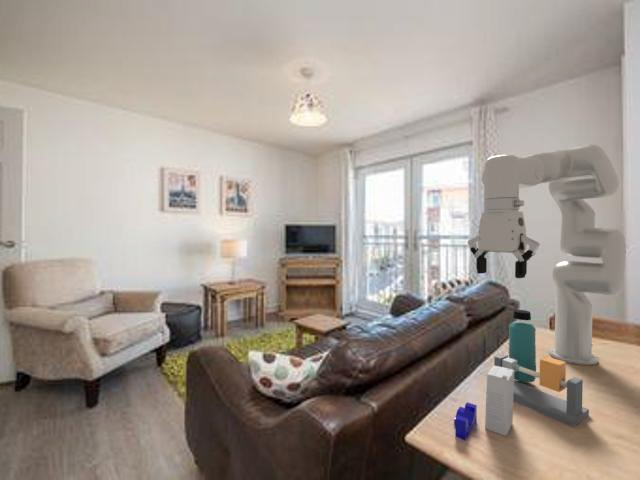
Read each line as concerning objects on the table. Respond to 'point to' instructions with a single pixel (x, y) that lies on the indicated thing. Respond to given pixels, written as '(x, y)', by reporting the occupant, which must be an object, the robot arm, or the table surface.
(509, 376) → the skincare box
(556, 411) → the rail
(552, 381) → the orange rectangular block
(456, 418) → the cable holder
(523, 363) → the beverage bottle
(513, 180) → the robot arm
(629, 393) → the table surface
